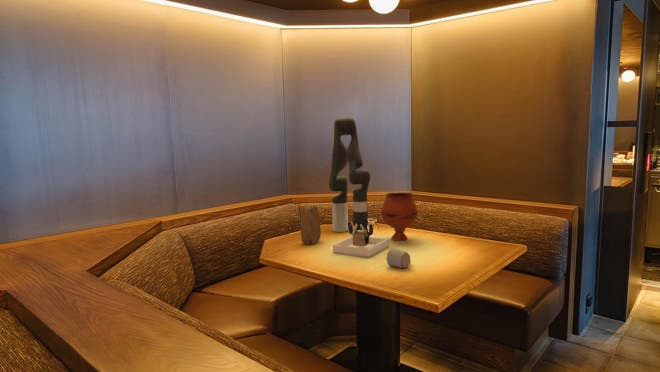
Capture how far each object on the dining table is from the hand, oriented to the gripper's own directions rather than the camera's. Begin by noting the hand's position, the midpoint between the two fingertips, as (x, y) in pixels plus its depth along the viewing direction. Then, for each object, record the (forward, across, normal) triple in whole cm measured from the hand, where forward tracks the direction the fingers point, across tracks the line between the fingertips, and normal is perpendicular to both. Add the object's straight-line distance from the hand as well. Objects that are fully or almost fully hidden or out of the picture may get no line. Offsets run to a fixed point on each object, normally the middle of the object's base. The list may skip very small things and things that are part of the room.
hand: (361, 242), depth 213 cm
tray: (+4, 0, 0) cm, 4 cm away
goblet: (+4, -9, -28) cm, 30 cm away
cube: (+1, 0, 0) cm, 1 cm away
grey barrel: (+4, -27, +16) cm, 32 cm away
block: (+4, +31, -1) cm, 31 cm away
